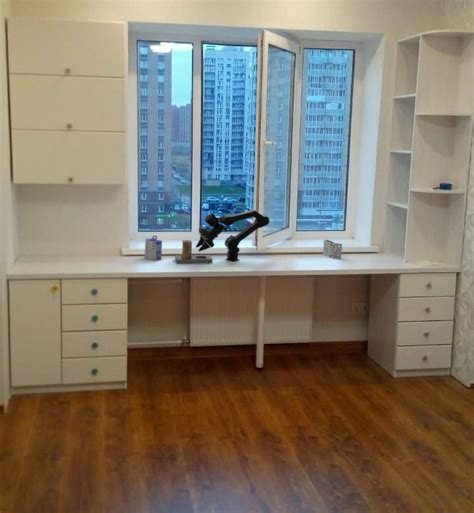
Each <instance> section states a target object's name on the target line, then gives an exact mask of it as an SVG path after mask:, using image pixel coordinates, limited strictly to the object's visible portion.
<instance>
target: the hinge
mask: <svg viewBox="0 0 474 513" xmlns="http://www.w3.org/2000/svg"><path fill="white" fill-rule="evenodd" d="M322 248H323V250H322V255H323V256H326V257H327V258H330V259H342V250H343V243H341V242H340V243H339V242H335V241H332V240H330V239H324V240H323V247H322Z"/></svg>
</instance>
